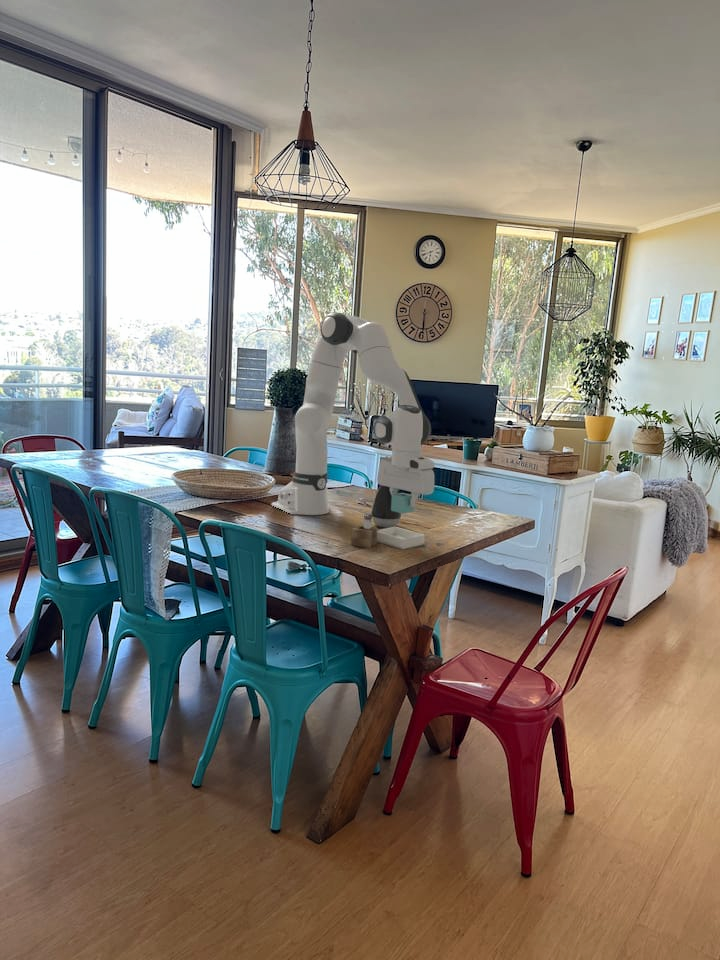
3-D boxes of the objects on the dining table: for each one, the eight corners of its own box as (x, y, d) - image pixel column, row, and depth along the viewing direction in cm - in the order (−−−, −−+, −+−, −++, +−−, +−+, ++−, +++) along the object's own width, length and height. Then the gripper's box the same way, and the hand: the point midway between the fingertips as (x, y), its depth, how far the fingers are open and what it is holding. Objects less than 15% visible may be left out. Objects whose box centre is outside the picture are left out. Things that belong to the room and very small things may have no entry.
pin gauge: (360, 543, 211) (362, 514, 210) (366, 542, 213) (368, 514, 211) (366, 545, 210) (368, 516, 208) (371, 544, 211) (373, 515, 210)
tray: (372, 540, 216) (373, 530, 216) (394, 535, 224) (395, 526, 223) (402, 549, 208) (403, 539, 207) (424, 544, 215) (424, 534, 215)
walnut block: (351, 544, 209) (352, 528, 209) (358, 540, 215) (359, 524, 214) (369, 548, 207) (370, 531, 206) (376, 543, 213) (377, 527, 212)
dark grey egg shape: (375, 530, 229) (378, 484, 226) (366, 522, 239) (369, 478, 236) (404, 529, 232) (408, 484, 229) (394, 522, 242) (397, 479, 239)
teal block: (391, 510, 214) (391, 494, 213) (401, 508, 217) (402, 492, 216) (403, 513, 210) (404, 497, 209) (414, 511, 214) (414, 495, 213)
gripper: (374, 455, 216) (371, 499, 218) (425, 465, 202) (422, 511, 204) (387, 454, 220) (385, 496, 223) (438, 463, 206) (435, 508, 209)
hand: (403, 504), depth 213 cm, fingers closed on teal block, 5 cm apart
